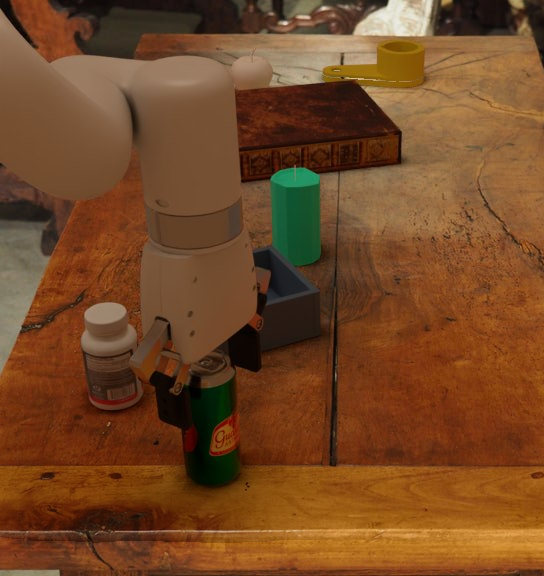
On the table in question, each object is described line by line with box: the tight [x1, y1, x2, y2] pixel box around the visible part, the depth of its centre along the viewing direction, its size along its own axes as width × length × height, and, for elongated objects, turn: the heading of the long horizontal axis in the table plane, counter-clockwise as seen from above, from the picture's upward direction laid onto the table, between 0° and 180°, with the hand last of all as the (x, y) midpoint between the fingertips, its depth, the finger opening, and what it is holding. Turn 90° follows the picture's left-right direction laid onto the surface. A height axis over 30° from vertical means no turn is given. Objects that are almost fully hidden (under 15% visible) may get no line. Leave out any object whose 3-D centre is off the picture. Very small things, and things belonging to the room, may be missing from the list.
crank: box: [322, 39, 426, 89], centre depth 190 cm, size 18×8×6 cm, turn 91°
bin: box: [215, 244, 322, 355], centre depth 118 cm, size 12×12×6 cm
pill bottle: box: [80, 302, 144, 411], centre depth 104 cm, size 5×5×10 cm
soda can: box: [180, 349, 243, 488], centre depth 94 cm, size 5×5×12 cm
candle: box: [269, 165, 322, 267], centre depth 130 cm, size 6×6×12 cm
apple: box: [230, 47, 274, 90], centre depth 182 cm, size 7×7×8 cm
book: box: [234, 80, 403, 183], centre depth 163 cm, size 30×24×5 cm
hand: (212, 394), depth 93 cm, fingers open, 9 cm apart
